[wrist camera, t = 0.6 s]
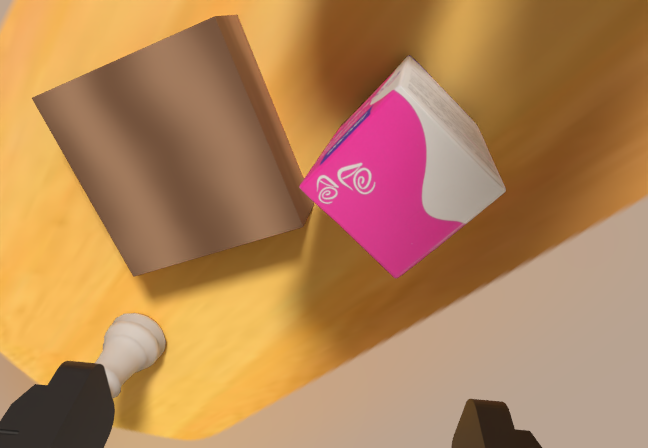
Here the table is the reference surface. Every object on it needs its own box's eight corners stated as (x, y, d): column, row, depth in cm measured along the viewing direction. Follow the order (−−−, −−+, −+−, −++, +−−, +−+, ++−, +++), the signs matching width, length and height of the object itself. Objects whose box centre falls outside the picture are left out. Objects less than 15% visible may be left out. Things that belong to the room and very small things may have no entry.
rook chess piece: (131, 361, 40) (69, 440, 33) (103, 316, 39) (33, 388, 31) (178, 351, 39) (125, 431, 32) (151, 304, 37) (90, 376, 30)
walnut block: (239, 14, 28) (214, 16, 25) (315, 201, 32) (303, 226, 29) (74, 87, 32) (31, 97, 28) (161, 248, 36) (133, 276, 32)
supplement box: (406, 49, 27) (403, 79, 17) (479, 125, 28) (517, 196, 18) (335, 124, 30) (294, 190, 19) (404, 191, 31) (401, 288, 20)
